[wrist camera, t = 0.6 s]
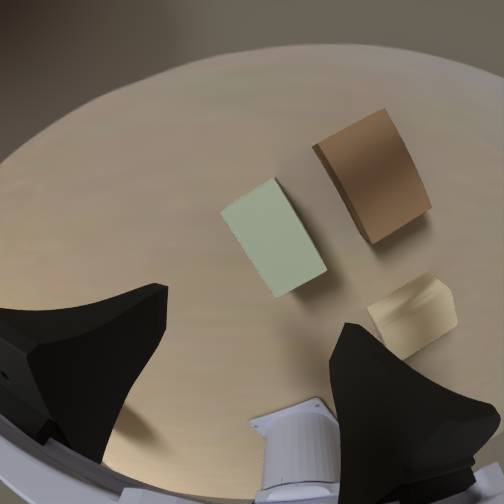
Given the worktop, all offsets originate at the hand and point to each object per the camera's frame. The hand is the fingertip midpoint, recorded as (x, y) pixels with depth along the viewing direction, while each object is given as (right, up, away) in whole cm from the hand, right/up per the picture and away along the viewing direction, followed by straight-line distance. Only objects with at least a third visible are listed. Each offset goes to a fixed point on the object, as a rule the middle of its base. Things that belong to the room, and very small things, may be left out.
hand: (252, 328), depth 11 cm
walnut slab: (+8, +8, +7) cm, 14 cm away
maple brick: (+12, -1, +10) cm, 16 cm away
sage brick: (+2, +5, +9) cm, 10 cm away
